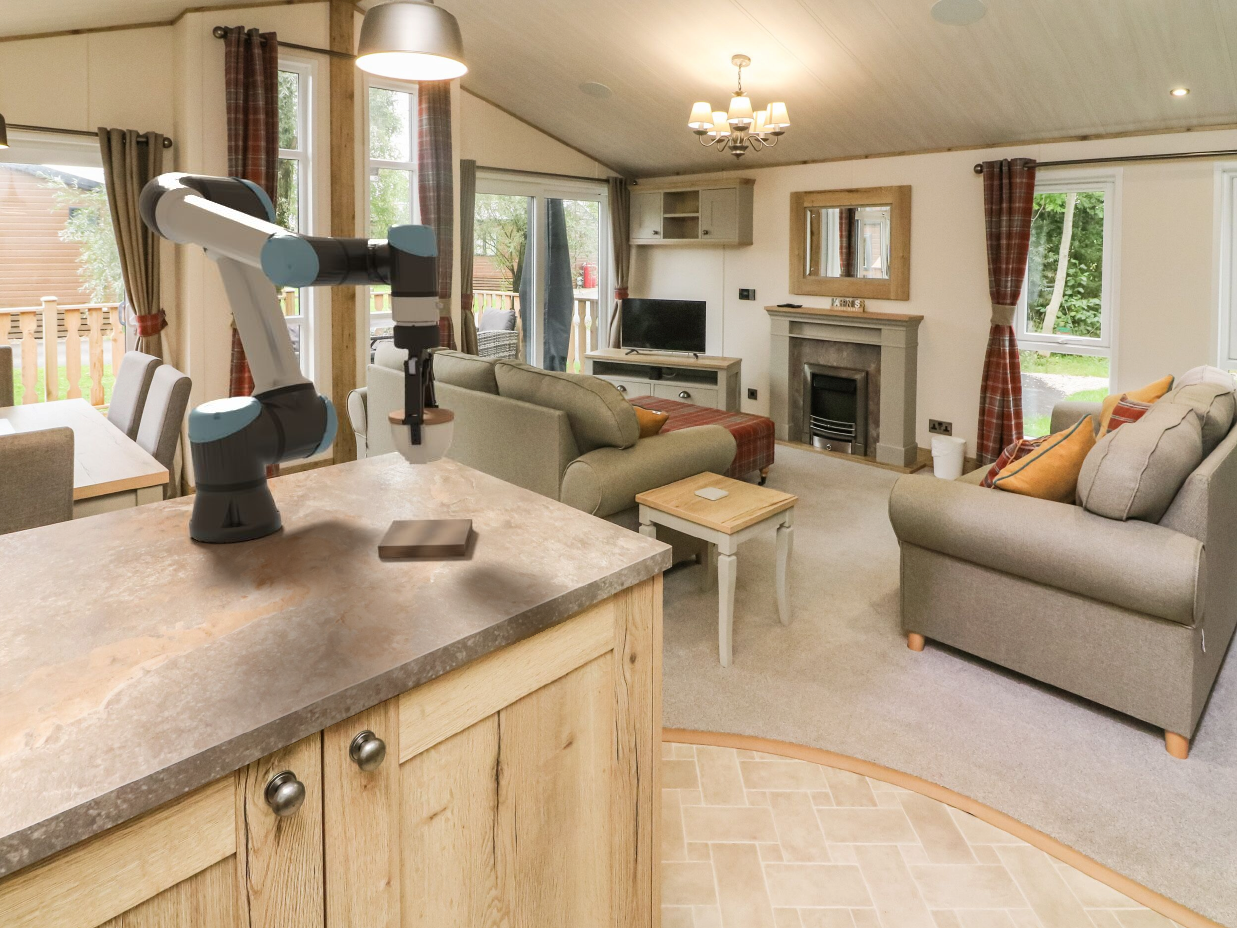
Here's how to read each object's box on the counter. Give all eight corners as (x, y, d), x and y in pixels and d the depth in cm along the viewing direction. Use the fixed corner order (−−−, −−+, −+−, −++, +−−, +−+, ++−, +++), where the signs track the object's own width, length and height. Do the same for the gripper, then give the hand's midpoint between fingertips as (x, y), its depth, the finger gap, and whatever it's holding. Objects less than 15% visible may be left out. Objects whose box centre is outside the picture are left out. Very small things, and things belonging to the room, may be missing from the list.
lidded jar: (440, 467, 134) (438, 410, 132) (379, 464, 137) (375, 407, 134) (465, 453, 145) (463, 399, 142) (407, 450, 147) (405, 397, 145)
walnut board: (378, 557, 137) (377, 546, 136) (394, 530, 150) (393, 520, 150) (464, 555, 138) (464, 544, 137) (472, 529, 151) (472, 518, 151)
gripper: (430, 328, 124) (436, 472, 130) (448, 318, 147) (453, 441, 152) (378, 329, 124) (387, 472, 129) (405, 318, 146) (412, 441, 151)
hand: (423, 455), depth 140 cm, fingers closed on lidded jar, 11 cm apart
